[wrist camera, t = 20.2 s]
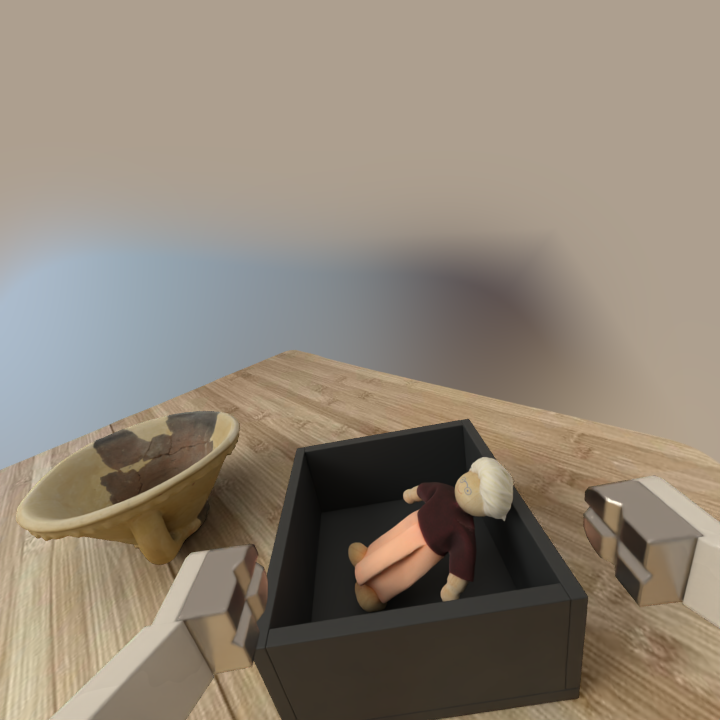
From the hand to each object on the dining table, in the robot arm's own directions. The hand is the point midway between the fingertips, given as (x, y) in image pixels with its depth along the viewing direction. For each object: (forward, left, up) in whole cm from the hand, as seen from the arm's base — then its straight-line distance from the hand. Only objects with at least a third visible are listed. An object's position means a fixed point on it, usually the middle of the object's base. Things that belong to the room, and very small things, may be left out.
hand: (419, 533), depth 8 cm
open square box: (+1, -12, -18) cm, 21 cm away
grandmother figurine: (+4, -10, -16) cm, 19 cm away
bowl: (+24, -22, -18) cm, 37 cm away
